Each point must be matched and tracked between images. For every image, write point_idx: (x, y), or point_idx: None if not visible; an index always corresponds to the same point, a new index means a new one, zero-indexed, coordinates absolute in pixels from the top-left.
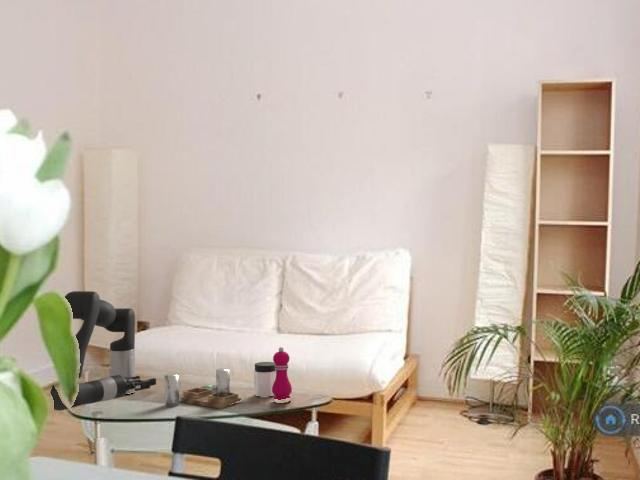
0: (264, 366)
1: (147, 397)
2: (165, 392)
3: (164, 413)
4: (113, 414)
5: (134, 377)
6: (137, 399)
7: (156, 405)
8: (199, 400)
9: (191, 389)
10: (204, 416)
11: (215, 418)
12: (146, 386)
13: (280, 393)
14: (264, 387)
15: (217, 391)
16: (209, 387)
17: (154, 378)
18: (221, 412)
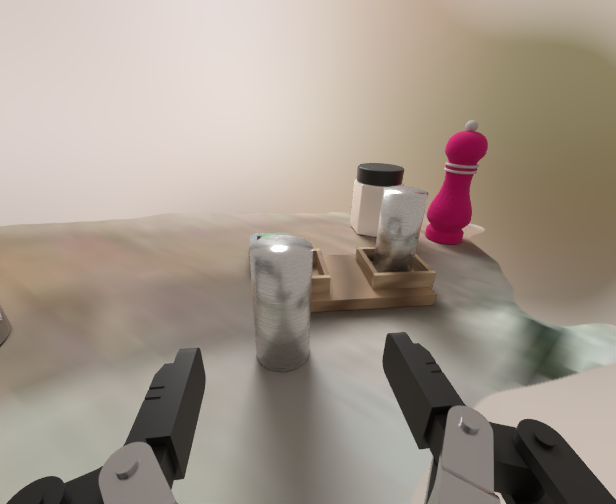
0: (400, 172)
1: (104, 337)
2: (274, 326)
3: (380, 444)
4: None
5: (184, 398)
6: (70, 372)
7: (226, 383)
8: (348, 297)
9: None
10: (520, 373)
11: (568, 367)
12: (524, 497)
13: (467, 224)
14: None
15: (399, 257)
16: None
17: (405, 337)
18: (482, 321)
